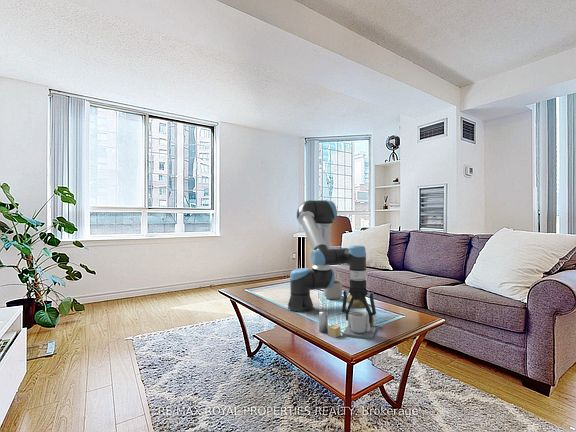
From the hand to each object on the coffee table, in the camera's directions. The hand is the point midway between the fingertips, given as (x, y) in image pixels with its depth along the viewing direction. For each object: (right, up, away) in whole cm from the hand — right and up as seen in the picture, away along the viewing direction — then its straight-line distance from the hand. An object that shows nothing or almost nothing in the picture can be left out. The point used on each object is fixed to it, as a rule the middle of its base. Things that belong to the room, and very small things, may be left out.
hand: (359, 328), depth 138 cm
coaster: (0, -2, 0) cm, 2 cm away
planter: (-2, -4, +64) cm, 64 cm away
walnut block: (+6, -2, +9) cm, 12 cm away
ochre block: (-12, -2, -2) cm, 12 cm away
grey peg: (-16, -2, +3) cm, 16 cm away
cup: (-1, -1, 0) cm, 1 cm away
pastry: (+9, -3, +45) cm, 47 cm away
